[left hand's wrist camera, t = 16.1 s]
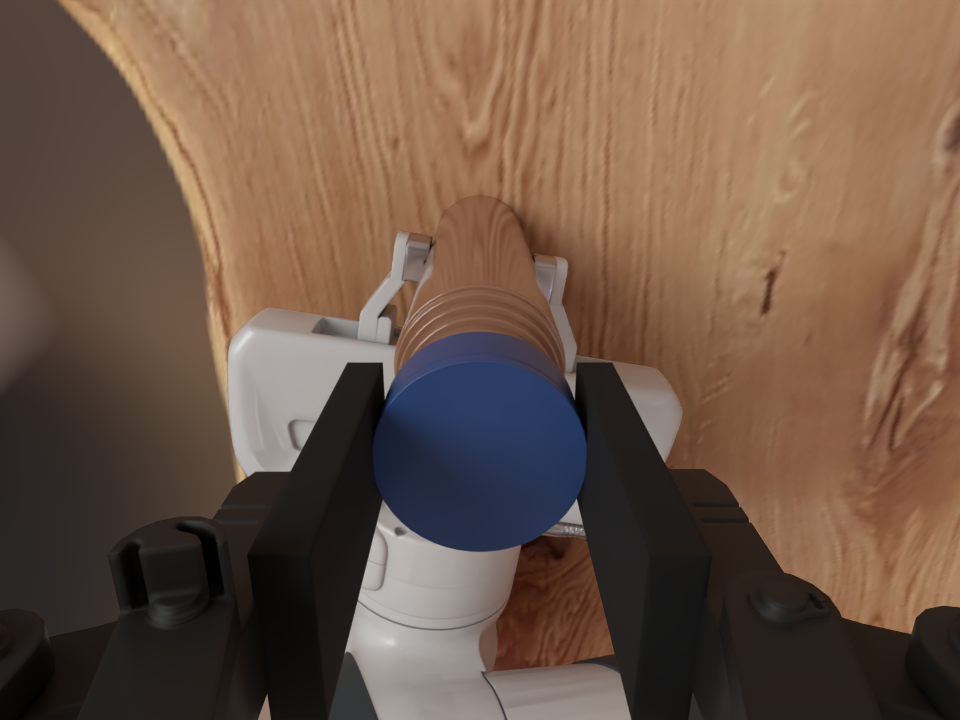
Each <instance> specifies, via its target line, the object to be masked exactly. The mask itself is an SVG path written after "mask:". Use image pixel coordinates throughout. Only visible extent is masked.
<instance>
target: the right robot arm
mask: <svg viewBox="0 0 960 720" xmlns="http://www.w3.org/2000/svg"><path fill="white" fill-rule="evenodd" d="M432 238H433V237H432V236H427V235H422V234H416V233H411V232H405V231H399V232H398V234H397V237H396V241H395V246H394V254H393V262H392V270H391V271H390V273H389V274H388V275H387V276H386V278H385V279H384V280H383V282H382V283H381V284H380V285H379V287H378V288H377V289H376V290H375V292H374V293H373V294H372V296H371V297H370V298H369V299H368V301H367V303H366V304H365V306H364V308H363V309H362V311H361V313H360V320H359V321H357V320H350V319H344V318H338V317H331V316H325V315H319V314H312V313H306V312H299V311H293V310H287V309H281V308H273V307H271V308H266V309H264V310H262V311H261V312H259V313H258V314H257V315H255V316H254V317H253V318H251V319H250V320H249V321H247V322H246V323H245V324H244V325H243V326H242V327H241V328H240V329H239V330H238V331H237V333H236V334H235V335H234V337H233V339H232V341H231V343H230V346H229V351H228V366H227V382H228V405H229V418H230V426H231V434H232V442H233V447H234V451H235V455H236V458H237V460H238V462H239V464H240V466H241V468H242V470H243V471H244V472H245V474H246V475H247V476H248V477H249V476H250V475H251V474H253V473H254V472H256V471H291V469H292V468H293V466H294V464H295V462H296V460H297V458H298V456H299V454H300V452H301V450H302V448H303V446H304V445H305V443H306V441H307V439H308V437H309V435H310V433H311V431H312V429H313V427H314V425H315V423H316V422H317V420H318V418H319V416H320V414H321V412H322V410H323V408H324V406H325V404H326V402H327V400H328V399H329V397H330V395H331V393H332V391H333V389H334V387H335V385H336V383H337V381H338V379H339V377H340V376H341V374H342V372H343V370H344V368H345V366H346V364H347V362H383V374H384V392H385V398H386V395H387V392H388V390H389V388H390V385H391V383H392V381H393V379H394V378H395V375H394V355H395V349H396V345H397V341H398V339H399V336H400V333H401V330H402V328H401V327H395V323H396V314H397V307H396V306H395V305H391V304H388V303H389V302H390V300H391V299H392V298H393V297H394V295H395V294H396V293H397V291H398V290H399V289H400V288H401V286H402V285H403V284H404V283H405V281H413V282H419V279H420V277H421V274H422V271H423V268H424V265H425V263H426V260H427V257H428V254H429V251H430V249H431V246H432ZM532 258H533V261H534V264H535V267H536V270H537V272H538V275H539V278H540V281H541V284H542V286H543V289H544V292H545V295H546V298H547V301H548V303H549V306H550V309H551V312H552V315H553V317H554V320H555V323H556V326H557V329H558V332H559V334H560V337H561V340H562V343H563V347H564V351H565V360H566V369H565V378H566V380H567V382H568V384H569V386H570V389H571V391H572V394H573V396H574V400H575V384H576V366H577V362H612V363H613V365H614V367H615V369H616V371H617V373H618V374H619V376H620V378H621V380H622V382H623V384H624V386H625V388H626V390H627V392H628V394H629V396H630V397H631V399H632V401H633V403H634V405H635V407H636V409H637V411H638V413H639V415H640V417H641V419H642V421H643V422H644V424H645V426H646V428H647V430H648V432H649V434H650V436H651V438H652V440H653V442H654V444H655V445H656V447H657V449H658V451H659V453H660V455H661V457H662V459H663V461H664V463H665V462H666V460H667V458H668V456H669V453H670V451H671V448H672V446H673V443H674V441H675V438H676V435H677V433H678V430H679V427H680V424H681V421H682V416H683V410H682V406H681V403H680V401H679V398H678V397H677V395H676V393H675V391H674V389H673V388H672V386H671V385H670V383H669V382H668V381H667V379H666V378H665V377H664V376H663V374H662V373H661V372H660V371H659V370H658V369H656V368H653V367H649V366H643V365H636V364H630V363H623V362H617V361H611V360H604V359H598V358H592V357H585V356H579V355H576V352H577V345H576V342H575V339H574V336H573V333H572V330H571V327H570V324H569V321H568V318H567V315H566V312H565V309H564V306H563V304H562V297H563V292H564V288H565V283H566V278H567V274H568V262H567V260H566V259H565V258H562V257H555V256H550V255H543V254H536V253H533V254H532ZM542 536H549V537H560V538H561V537H562V538H566V537H567V538H578V539H585V540H586V541H587V539H586V535H585V531H584V527H583V523H582V519H581V515H580V511H579V507H578V502H577V499H576V501H575V503H574V504H573V506H572V507H571V508H570V510H569V511H568V512H567V514H566V515H565V516H564V517H563V518H562V519H561V520H560V521H559V522H558V523H557V524H556V525H554V526H553V527H552V528H551V529H549V530H548V531H547V532H545V533H544V534H542ZM520 550H521V545H519V546H516V547H513V548H508V549H504V550H499V551H490V552H469V551H461V550H456V549H451V548H447V547H444V546H441V545H438V544H435V543H433V542H431V541H429V540H427V539H425V538H422V537H421V536H419V535H418V534H416V533H415V532H413V531H411V530H410V529H409V528H408V527H406V526H405V525H404V524H403V523H402V522H401V521H400V520H399V519H398V518H397V517H396V516H395V515H394V514H393V513H392V512H391V510H390V509H389V507H388V506H387V505H386V503H385V502H384V500H383V501H382V505H381V509H380V513H379V517H378V521H377V525H376V529H375V533H374V537H373V541H372V545H371V549H370V553H369V557H368V561H367V565H366V569H365V573H364V577H363V582H362V586H361V590H360V594H359V598H358V602H357V606H356V610H355V614H354V618H353V622H352V626H351V630H350V634H349V638H348V642H347V646H346V650H345V654H344V658H343V662H342V666H341V670H340V674H339V678H338V682H337V687H336V691H335V695H334V699H333V703H332V707H331V711H330V715H329V719H328V720H631V717H630V713H629V709H628V704H627V700H626V696H625V692H624V688H623V684H622V680H621V676H620V672H619V668H618V664H617V660H616V656H615V654H612V655H607V656H602V657H597V658H592V659H586V660H581V661H577V662H574V663H572V664H569V665H558V666H547V667H536V668H524V669H513V670H502V671H493V669H494V665H495V661H496V656H497V648H498V638H497V629H496V622H497V619H498V618H499V616H500V615H501V613H502V612H503V610H504V608H505V607H506V604H507V602H508V600H509V597H510V594H511V589H512V585H513V581H514V576H515V572H516V567H517V563H518V558H519V554H520ZM688 720H703V718H702V715H701V713H700V710H699V707H698V704H697V702H696V699H695V696H694V693H693V692H692V698H691V705H690V712H689V719H688Z"/></svg>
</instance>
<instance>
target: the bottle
mask: <svg viewBox="0 0 960 720" xmlns="http://www.w3.org/2000/svg"><path fill="white" fill-rule="evenodd" d="M474 331H478V332H494V333H501V334H505V335H509V336H513V337H515V338H518V339H520V340H523V341H525V342H527V343H529V344H531V345H532V346H534V347H536V348H537V349H539V350H540V351H541V352H543V353H544V354H545V355H547V356H548V357H549V358H550V359H551V360H552V361H553V362H554V363H555V364H556V366H557V367H558V368H559V369H560V371H561V372H562V373H563V375H564V377H565V369H566V360H565V351H564V347H563V343H562V340H561V337H560V334H559V332H558V329H557V326H556V323H555V320H554V317H553V315H552V312H551V309H550V306H549V303H548V301H547V298H546V295H545V292H544V289H543V286H542V284H541V281H540V278H539V275H538V272H537V270H536V267H535V264H534V261H533V258H532V255H531V253H530V250H529V247H528V244H527V241H526V239H525V236H524V233H523V230H522V227H521V225H520V222H519V220H518V218H517V216H516V215H515V213H514V212H513V211H512V210H511V209H510V208H509V207H508V206H507V205H506V204H505V203H503V202H501V201H500V200H497V199H495V198H492V197H488V196H471V197H467V198H464V199H462V200H460V201H458V202H456V203H455V204H454V205H452V206H451V207H450V208H449V209H448V210H447V211H446V213H445V214H444V215H443V217H442V219H441V221H440V223H439V226H438V229H437V232H436V234H435V237H434V240H433V243H432V246H431V249H430V251H429V254H428V257H427V260H426V263H425V265H424V268H423V271H422V274H421V277H420V279H419V282H418V285H417V288H416V291H415V294H414V296H413V299H412V302H411V305H410V308H409V310H408V313H407V316H406V319H405V322H404V324H403V327H402V330H401V333H400V336H399V339H398V341H397V345H396V349H395V355H394V375H395V376H396V374H397V373H398V371H399V370H400V369H401V368H402V366H403V365H404V364H405V363H406V362H407V361H408V360H409V359H410V358H411V357H412V356H413V355H414V354H415V353H417V352H418V351H420V350H421V349H422V348H424V347H425V346H427V345H429V344H431V343H433V342H435V341H437V340H439V339H442V338H444V337H447V336H451V335H455V334H459V333H465V332H474Z"/></svg>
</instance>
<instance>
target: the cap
mask: <svg viewBox="0 0 960 720" xmlns="http://www.w3.org/2000/svg"><path fill="white" fill-rule="evenodd" d="M372 446H373V463H374V478H375V482H376V485H377V488H378V490H379V492H380V494H381V496H382V498H383V500H384V502H385V503H386V505H387V506H388V507H389V509H390V510H391V512H392V513H393V514H394V515H395V516H396V517H397V518H398V519H399V520H400V521H401V522H402V523H403V524H404V525H405V526H406V527H408V528H409V529H410V530H411V531H413V532H415V533H416V534H418V535H419V536H421V537H422V538H425V539H427V540H429V541H431V542H433V543H435V544H438V545H441V546H444V547H447V548H451V549H456V550H461V551H469V552H490V551H499V550H504V549H508V548H513V547H516V546H519V545H522V544H525V543H527V542H529V541H531V540H533V539H535V538H537V537H539V536H540V535H542V534H544V533H545V532H547V531H548V530H549V529H551V528H552V527H553V526H554V525H556V524H557V523H558V522H559V521H560V520H561V519H562V518H563V517H564V516H565V515H566V514H567V512H568V511H569V510H570V508H571V507H572V506H573V504H574V503H575V501H576V499H577V497H578V495H579V493H580V491H581V489H582V486H583V484H584V481H585V472H586V456H587V439H586V434H585V430H584V427H583V424H582V421H581V418H580V415H579V412H578V409H577V406H576V403H575V400H574V396H573V394H572V391H571V389H570V386H569V384H568V382H567V380H566V378H565V377H564V375H563V373H562V372H561V371H560V369H559V368H558V367H557V366H556V364H555V363H554V362H553V361H552V360H551V359H550V358H549V357H548V356H547V355H545V354H544V353H543V352H541V351H540V350H539V349H537V348H536V347H534V346H532V345H531V344H529V343H527V342H525V341H523V340H520V339H518V338H515V337H513V336H509V335H505V334H501V333H494V332H478V331H474V332H465V333H459V334H455V335H451V336H447V337H444V338H442V339H439V340H437V341H435V342H433V343H431V344H429V345H427V346H425V347H424V348H422V349H421V350H420V351H418V352H417V353H415V354H414V355H413V356H412V357H411V358H410V359H409V360H408V361H407V362H406V363H405V364H404V365H403V366H402V368H401V369H400V370H399V371H398V373H397V374H396V376H395V378H394V379H393V381H392V383H391V385H390V388H389V390H388V392H387V395H386V398H385V401H384V404H383V407H382V410H381V413H380V417H379V420H378V423H377V426H376V429H375V433H374V437H373V441H372Z"/></svg>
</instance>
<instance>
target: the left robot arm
mask: <svg viewBox="0 0 960 720" xmlns="http://www.w3.org/2000/svg"><path fill="white" fill-rule="evenodd" d="M384 401H385V392H384V374H383V362H347V364H346V366H345V368H344V370H343V372H342V374H341V376H340V377H339V379H338V381H337V383H336V385H335V387H334V389H333V391H332V393H331V395H330V397H329V399H328V400H327V402H326V404H325V406H324V408H323V410H322V412H321V414H320V416H319V418H318V420H317V422H316V423H315V425H314V427H313V429H312V431H311V433H310V435H309V437H308V439H307V441H306V443H305V445H304V446H303V448H302V450H301V452H300V454H299V456H298V458H297V460H296V462H295V464H294V466H293V468H292V469H291V471H256V472H254V473H253V474H251V475H250V476H249V477H247V478H246V479H244V480H243V481H241V482H240V483H239V484H237V485H236V486H234V487H233V489H232V490H231V492H230V493H229V495H228V496H227V498H226V499H225V501H224V503H223V504H222V505H221V509H220V510H218V512H217V513H216V515H215V516H214V518H213V519H212V520H211V519H207V518H203V517H176V518H171V519H166V520H161V521H157V522H154V523H152V524H150V525H147V526H145V527H142V528H140V529H137V530H135V531H134V532H132V533H131V534H129V535H128V536H126V537H125V538H123V539H122V540H120V541H119V542H118V543H117V544H116V545H115V547H114V548H113V549H112V550H111V551H110V553H109V554H108V560H109V564H110V568H111V572H112V576H113V581H114V585H115V589H116V594H117V598H118V602H119V606H120V611H121V613H120V616H119V618H118V620H117V621H115V622H111V623H108V624H104V625H101V626H97V627H93V628H88V629H84V630H79V631H75V632H70V633H66V634H62V635H57V636H52V637H49V636H48V633H47V629H46V626H45V622H44V620H43V619H41V618H40V617H39V616H38V615H37V614H36V613H35V612H31V611H25V610H20V609H11V610H1V611H0V720H258V717H259V715H260V712H261V709H262V706H263V704H264V701H265V698H266V695H268V701H269V708H270V715H271V720H328V719H329V715H330V711H331V707H332V703H333V699H334V695H335V691H336V687H337V682H338V678H339V674H340V670H341V666H342V662H343V658H344V654H345V650H346V646H347V642H348V638H349V634H350V630H351V626H352V622H353V618H354V614H355V610H356V606H357V602H358V598H359V594H360V590H361V586H362V582H363V577H364V573H365V569H366V565H367V561H368V557H369V553H370V549H371V545H372V541H373V537H374V533H375V529H376V525H377V521H378V517H379V513H380V509H381V505H382V501H383V498H382V496H381V494H380V492H379V490H378V488H377V485H376V482H375V478H374V463H373V446H372V441H373V437H374V433H375V429H376V426H377V423H378V420H379V417H380V413H381V410H382V407H383V404H384ZM575 403H576V406H577V409H578V412H579V415H580V418H581V421H582V424H583V427H584V430H585V434H586V439H587V456H586V472H585V481H584V484H583V486H582V489H581V491H580V493H579V495H578V497H577V502H578V507H579V511H580V515H581V519H582V523H583V527H584V531H585V535H586V539H587V543H588V547H589V551H590V555H591V559H592V563H593V567H594V571H595V575H596V579H597V583H598V587H599V591H600V595H601V599H602V603H603V608H604V612H605V616H606V620H607V624H608V628H609V632H610V636H611V640H612V644H613V648H614V652H615V656H616V660H617V664H618V668H619V672H620V676H621V680H622V684H623V688H624V692H625V696H626V700H627V704H628V709H629V713H630V717H631V720H688V719H689V712H690V705H691V698H692V692H693V693H694V696H695V699H696V702H697V704H698V707H699V710H700V713H701V715H702V718H703V720H960V607H950V606H940V607H935V608H929V609H926V610H924V611H923V612H922V613H921V614H920V615H919V616H918V617H917V618H916V620H915V624H914V627H913V630H912V634H907V633H903V632H898V631H894V630H889V629H885V628H880V627H876V626H871V625H866V624H862V623H859V622H855V621H852V620H848V619H845V618H842V617H841V614H840V612H839V610H838V609H837V608H836V606H835V605H834V603H833V602H832V600H831V599H830V598H829V596H827V595H826V594H825V593H823V592H822V591H821V590H819V589H818V588H817V587H816V586H814V585H813V584H811V583H809V582H807V581H805V580H802V579H800V578H798V577H796V576H794V575H791V574H787V573H784V572H783V570H782V569H781V567H780V566H779V564H778V563H777V561H776V560H775V558H774V557H773V555H772V554H771V552H770V551H769V549H768V548H767V546H766V545H765V543H764V541H763V540H762V538H761V537H760V535H759V534H758V532H757V531H756V529H755V528H754V526H753V525H752V523H749V519H748V517H747V516H746V514H745V512H744V511H743V509H742V508H741V507H739V503H738V502H737V500H736V499H735V497H734V496H733V494H732V493H731V491H730V490H729V488H728V487H727V485H726V484H724V483H723V482H721V481H720V480H719V479H717V478H716V477H714V476H713V475H711V474H710V473H709V472H707V471H706V470H704V469H668V468H667V467H666V465H665V463H664V461H663V459H662V457H661V455H660V453H659V451H658V449H657V447H656V445H655V444H654V442H653V440H652V438H651V436H650V434H649V432H648V430H647V428H646V426H645V424H644V422H643V421H642V419H641V417H640V415H639V413H638V411H637V409H636V407H635V405H634V403H633V401H632V399H631V397H630V396H629V394H628V392H627V390H626V388H625V386H624V384H623V382H622V380H621V378H620V376H619V374H618V373H617V371H616V369H615V367H614V365H613V363H612V362H577V366H576V384H575Z"/></svg>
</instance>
